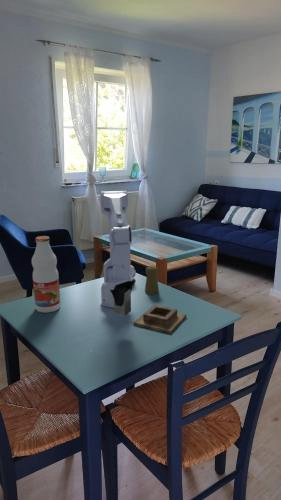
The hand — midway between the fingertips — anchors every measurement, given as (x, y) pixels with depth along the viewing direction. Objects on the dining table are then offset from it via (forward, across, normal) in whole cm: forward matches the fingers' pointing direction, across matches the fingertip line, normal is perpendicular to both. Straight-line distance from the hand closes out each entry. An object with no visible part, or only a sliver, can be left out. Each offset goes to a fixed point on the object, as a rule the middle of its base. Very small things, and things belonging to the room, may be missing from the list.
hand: (122, 302), depth 125 cm
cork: (+11, +36, +7) cm, 38 cm away
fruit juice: (+11, +3, +35) cm, 37 cm away
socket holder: (+10, +13, -8) cm, 18 cm away
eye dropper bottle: (+11, +40, +21) cm, 46 cm away
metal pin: (+3, 0, 0) cm, 3 cm away
